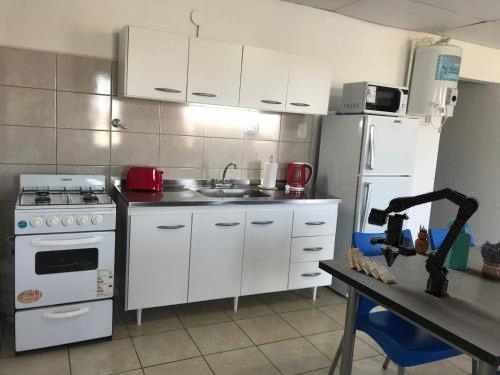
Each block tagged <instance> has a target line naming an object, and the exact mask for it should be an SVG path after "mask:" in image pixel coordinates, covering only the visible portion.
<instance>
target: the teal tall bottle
mask: <svg viewBox="0 0 500 375" xmlns="http://www.w3.org/2000/svg"><path fill="white" fill-rule="evenodd" d="M446 221H447V223H446V224H447V230H448V231H449V229H450V228H451V226H452V224H453V222H454V221H455V220H453V219H450V218H447V220H446ZM468 225H469V222H468V221H467V222H466V223H465V225H464V227H463V228H462V230H461V232H460V233H459V235H458V237H457V239H456V240H455V242H454V244H453V245H452V247H451V249H450V251H449V252H448V255H447V258H446V262H445V264H444V266H445V267H446V268H449V269H452V270H453V269H454V270H459V271H460V270H462V271H465V270H467V269H468V263H469V258H470V257H469V256H470V252H471V251H470V250H471V244H472V238H473V237H472V234H471V233H469V232H468V231H466V226H468Z"/></svg>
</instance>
